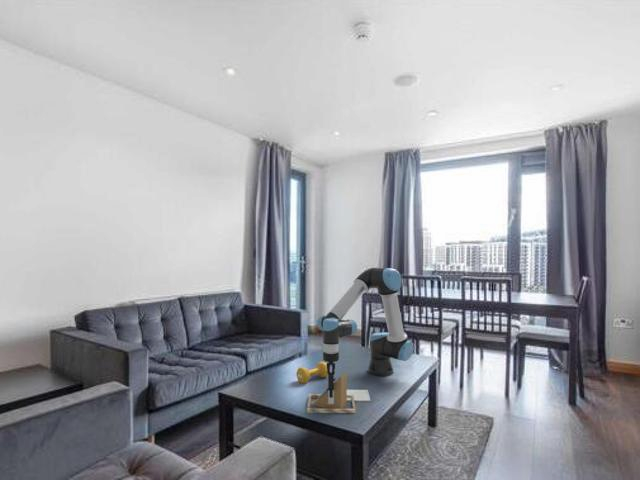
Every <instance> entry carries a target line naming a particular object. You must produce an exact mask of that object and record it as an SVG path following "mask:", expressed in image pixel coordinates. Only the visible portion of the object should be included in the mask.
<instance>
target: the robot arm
mask: <svg viewBox="0 0 640 480" xmlns="http://www.w3.org/2000/svg"><path fill="white" fill-rule="evenodd" d="M402 282H403V280H402V276H401V273H400V272H399V271H398V270H397V269H395V268H390V267H386V268H385V267H370V268H368V269H366V270H365V271H363V272H362V273H360V274H359V275H358V276H356V278H355V279H354V281H353V284H352V286H351V287H350V288H348V290H347V291H346V292H345V294H343V295H342V296H341V298H340V299H339V300H338V301H337V302H336V304H335V305H334V306H333V307H332V308H331V309H330V311H329V312H328V313H327V314H326V315H321V316H319V317H318V318H317V320H316V326H317V328H318V329H319V330H321V331H322V343H323V344H322V345H321V347H322V351H323V353H322V360H323V362H325V363H327V374H328V375H327V380H328V382H327V384H328V386H327V388H326V390H328V404H334V382H335V381H336V378H334V375H335V373H336V372H335V369H336V362H338V361H339V360H340V357H339V355H340V354H339V353H340V352H339V351H340V342H339V341H340V338H344V337H345V338H346V337H348V336H349V337H350V336H352V335H355V334H356V333H357V332H358V324H357V323H356V321H355V320H354V319H344V317H345V316H346V315H347V314H348V312H350V310H351V309H352V308H353V307H354V305H355V304H356V303H357V301H358V300H360V298H361V297H362V296H363V295H364V294H365V293H367V292H368V291H369V290H371V289H377V294H378V295H379V296H380V297H381V299H382V300H381V301H382V307H383V311H384V317H385V322H386V327H387V332H386V331H385V332H383V331H382V332H374V333H372V334H371V335H370V340H369V341H370V343H369V344H370V360H369V363H368V367H367V372H368V373H369V374H370V375H373V376H379V377H387V376H391V375H392V374H393V373H394V366H393V364H392V360H391V358H392V359H395V360H398V361H401V362H403V361H404V362H407V361H408V360H410V359H411V357H412V355H413V353H414V343H413V342H412V340H409V337H408V334H407V333H406V332H405V331H404V326H403V325H404V324H403V321H402V315H401V310H400V303H399V298H398V293H399V292H400V289H401V287H402Z"/></svg>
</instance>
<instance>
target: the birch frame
mask: <svg viewBox="0 0 640 480" xmlns="http://www.w3.org/2000/svg"><path fill="white" fill-rule="evenodd" d="M321 394H322V393H320V394H318V393H317V394H316V393H312V394H311V393H309V395H308V401H307V406H306V413H311V414H313V413H315V414H356V413H357V411H356V405H355V404H356V403H355V401H354V396H353V395H347V397H351V398H352V401H351V405H352V407H351V408H343V409H329V408H322V407H318V408H311V401H312V399H317V398H318V397H319V396H320V395H321Z"/></svg>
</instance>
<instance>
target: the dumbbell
mask: <svg viewBox="0 0 640 480" xmlns="http://www.w3.org/2000/svg"><path fill="white" fill-rule="evenodd" d="M327 363H328V362H326V361H318V362H317V364H316V366H315V368H311V369H308V368H307V367H304V366H299V367H298V368H297V370H296V374H295V376H296V378H297V381H298V383H301V384H307V383H308V382H309V380H310V378H311V377H313V376H317V375H318V377H321V378H326V377H328V374H327Z"/></svg>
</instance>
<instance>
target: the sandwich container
mask: <svg viewBox="0 0 640 480" xmlns="http://www.w3.org/2000/svg"><path fill="white" fill-rule="evenodd" d="M347 377H348V375H347V372H345V373H343V374H342V375H341V376H340V377H339V378H338V379H335V381H334V404H328V390H327V389H326V390H325V391H324V392H322V393H320V394H321V395H320V396H319V397H318V398H315V400H314V402H312V404H311V406H312V407H318V408H321V409H345V408H344V407H346V405H347V403H348V401H347V390H348V389H347V386H348V384H347V383H348V380H347Z"/></svg>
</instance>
